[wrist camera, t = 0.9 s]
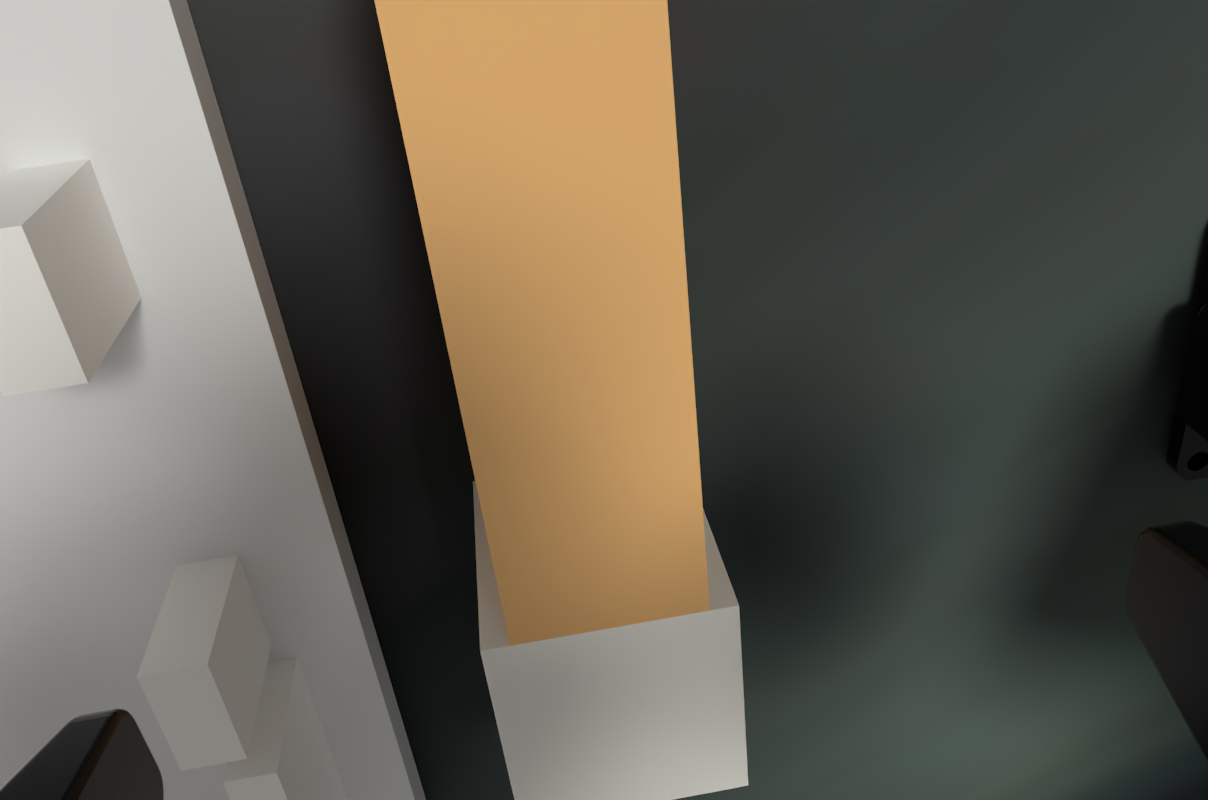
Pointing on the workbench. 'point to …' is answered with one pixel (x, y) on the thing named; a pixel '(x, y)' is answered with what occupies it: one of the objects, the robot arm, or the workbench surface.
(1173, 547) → the robot arm
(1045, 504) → the workbench surface
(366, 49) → the workbench surface
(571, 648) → the two-tone rectangular block
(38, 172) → the board
